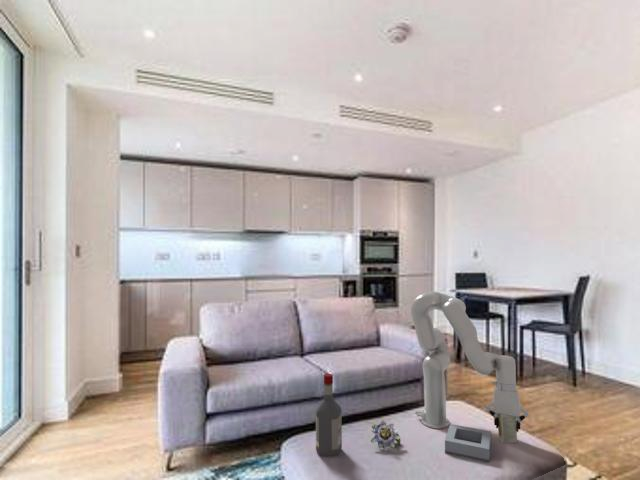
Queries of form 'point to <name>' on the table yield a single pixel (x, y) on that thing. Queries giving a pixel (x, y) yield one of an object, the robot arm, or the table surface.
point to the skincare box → (507, 428)
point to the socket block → (468, 442)
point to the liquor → (328, 422)
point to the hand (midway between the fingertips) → (507, 428)
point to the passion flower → (385, 435)
